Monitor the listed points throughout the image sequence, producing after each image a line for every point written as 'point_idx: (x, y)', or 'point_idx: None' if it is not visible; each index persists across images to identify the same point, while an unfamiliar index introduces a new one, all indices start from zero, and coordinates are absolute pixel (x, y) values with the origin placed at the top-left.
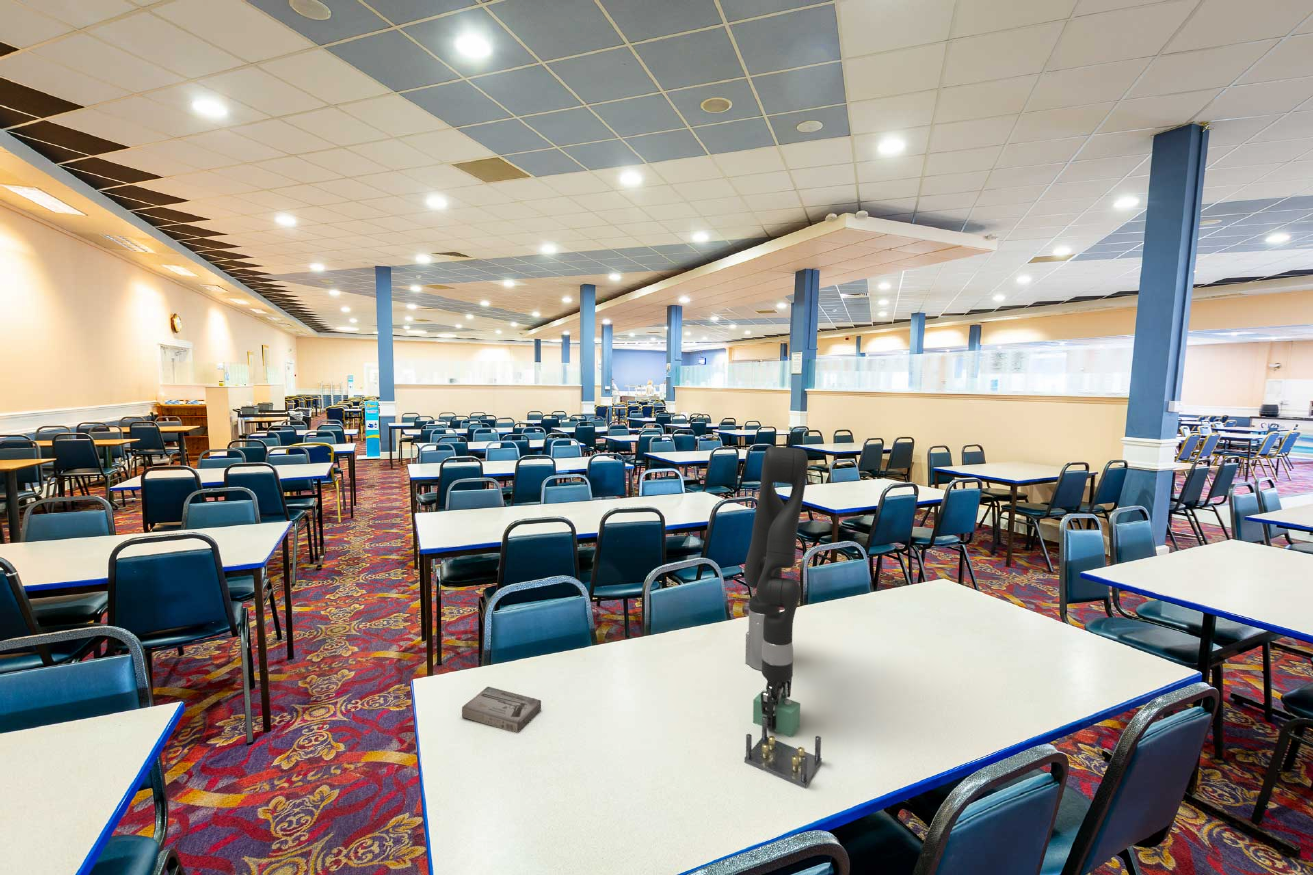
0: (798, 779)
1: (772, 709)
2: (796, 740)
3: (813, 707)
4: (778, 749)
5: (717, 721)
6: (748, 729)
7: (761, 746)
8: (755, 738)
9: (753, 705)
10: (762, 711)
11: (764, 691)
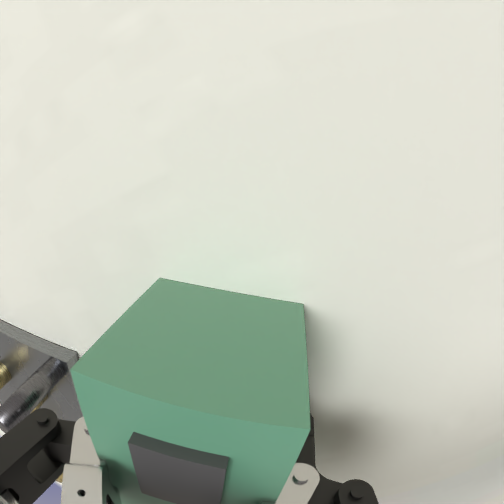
0: None
1: (51, 477)
2: None
3: (424, 458)
4: (51, 409)
5: (70, 87)
6: (90, 272)
7: (21, 358)
8: (61, 319)
9: (102, 337)
10: (27, 420)
11: (285, 441)
